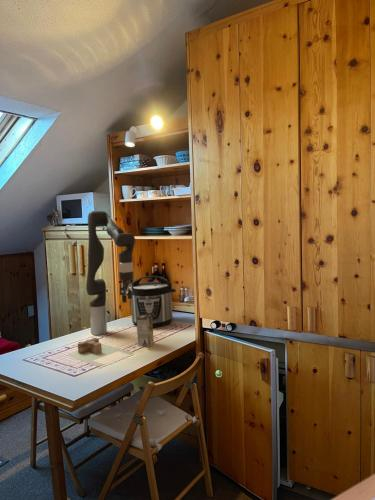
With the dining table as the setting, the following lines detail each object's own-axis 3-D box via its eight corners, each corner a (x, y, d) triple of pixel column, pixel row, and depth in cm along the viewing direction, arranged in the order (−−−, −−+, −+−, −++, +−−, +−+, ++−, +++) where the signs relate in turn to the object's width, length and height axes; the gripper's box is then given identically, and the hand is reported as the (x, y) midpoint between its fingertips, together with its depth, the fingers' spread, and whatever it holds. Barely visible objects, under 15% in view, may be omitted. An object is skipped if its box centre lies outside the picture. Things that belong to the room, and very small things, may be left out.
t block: (78, 352, 197) (77, 343, 197) (95, 347, 206) (95, 337, 205) (89, 356, 191) (89, 347, 190) (107, 350, 199) (107, 341, 199)
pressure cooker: (120, 326, 249) (118, 278, 246) (145, 316, 273) (143, 272, 271) (158, 331, 234) (156, 280, 231) (182, 320, 258) (180, 273, 256)
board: (66, 357, 195) (66, 355, 195) (101, 345, 211) (101, 343, 211) (99, 368, 177) (98, 366, 177) (134, 354, 194) (134, 352, 194)
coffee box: (143, 342, 214) (141, 314, 213) (153, 342, 213) (152, 314, 211) (137, 347, 205) (136, 318, 204) (149, 348, 204) (147, 318, 202)
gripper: (124, 268, 211) (125, 297, 212) (114, 272, 197) (115, 303, 198) (137, 268, 209) (138, 297, 211) (128, 272, 195) (129, 303, 197)
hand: (127, 300), depth 205 cm, fingers open, 8 cm apart
